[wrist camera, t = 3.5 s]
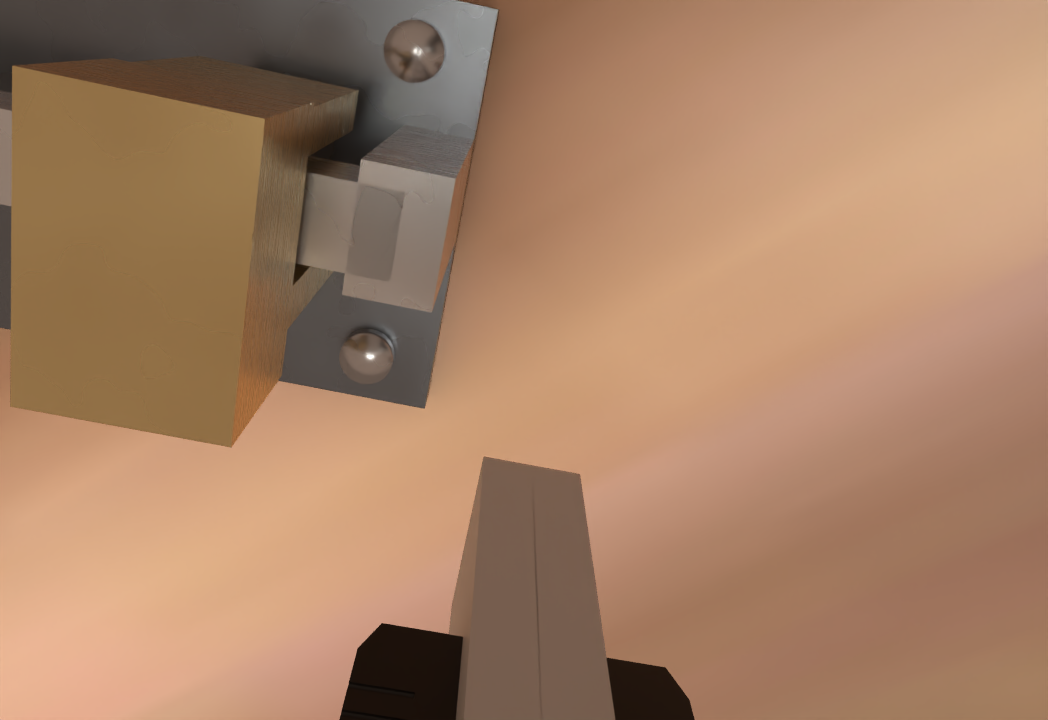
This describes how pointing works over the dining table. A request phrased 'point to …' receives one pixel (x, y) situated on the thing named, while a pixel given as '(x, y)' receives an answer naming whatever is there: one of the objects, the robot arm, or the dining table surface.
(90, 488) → the dining table surface
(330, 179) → the dividers bar
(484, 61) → the hole plate
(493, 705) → the robot arm
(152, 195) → the block
